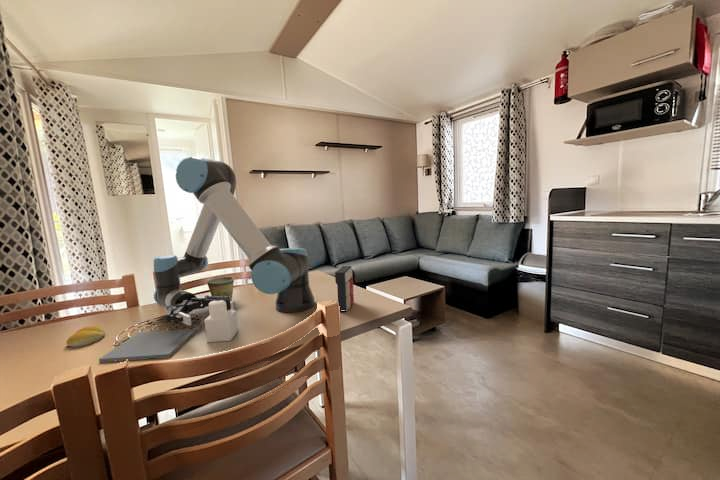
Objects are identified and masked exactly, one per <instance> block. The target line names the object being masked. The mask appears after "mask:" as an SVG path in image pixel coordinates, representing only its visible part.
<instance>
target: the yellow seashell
mask: <svg viewBox="0 0 720 480" xmlns="http://www.w3.org/2000/svg"><path fill="white" fill-rule="evenodd" d="M105 334H106V332H105V329H104V328H103V327H100V326H98V325H90V326H84V327H81V328H79V329H78V330H76V331H75V332H74V333H73V334H72V335H70V336H69V337H68V338H67V340H66V346H67V347H68V346H69V347H74V348H77V347H78V348H79V347H83V346H87V345H90V344H93V343H96V342H98V341H100V340H101V339H102V338H103V337H104V336H105Z"/></svg>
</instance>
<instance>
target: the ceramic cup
mask: <svg viewBox="0 0 720 480" xmlns="http://www.w3.org/2000/svg"><path fill="white" fill-rule="evenodd" d="M234 283H235V277H233V276H220V277H219V276H218V277H216V278H215V277H214V278H212V279H208V280H207V282H206V284H207V287H208V291H209V292H210V296H229V299H230V302H233V293H234Z"/></svg>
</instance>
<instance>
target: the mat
mask: <svg viewBox="0 0 720 480" xmlns="http://www.w3.org/2000/svg"><path fill="white" fill-rule="evenodd" d="M196 333H198V328H188V329H187V328H186V329H185V328H184V329H171V330H155V331H144V332H143V331H142V332H141V331H140V332H138V333H136V334H134V335H133V336H131V337H129V338H128V339H126V340H125V341H124V342H122V343H121V344H120V345H118V346H116V347H115V348H113V349H112V350H111V351H108V353H106V354H104V355H103V356H101V357H100V358H99V359H98V361H99V363H110V361H114V362H124V361H125V360H126V359H128V361H139V360H140V361H141V359H142V360H150V359H149V358H156V359H168V358H171V357H172V356H173V355H174V354H175V353H177V351H179V349H180V348H182V347H183V346H184V345H185V343H187V342H188V341H189V340H190V339H191V338H192V337H193V336H195V335H196ZM115 360H116V361H115ZM123 360H124V361H123Z"/></svg>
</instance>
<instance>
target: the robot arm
mask: <svg viewBox="0 0 720 480" xmlns="http://www.w3.org/2000/svg"><path fill="white" fill-rule="evenodd" d="M175 170H176V173H175V181H176V184H177V186H178V187H179V188H180V189H181V190H182V191H184V192H186V193H188V194H189V193H190V194H193V195H194V196H195V198H196V199H197V201H198V202H199V203H200V204H203V205H202V208H201V210H200V214H199V216H198V219H197V221H196V224H195V225H194V226H195V227H194V230H193V232H192V234H191V236H190V240H189V241H188V242H189V243H188V245H187V248H186V249H185V253H184V255H183V256H181V257H178V256H177V255H174V254H167V255H166V254H165V255H160V256H157V257H154V258H153V271H154V278H155V285H156V290H155V291H154V294H153V299H154V302H156V304H158V305H159V306H160V307H164V308H166V311H165V312H166V313H165V322H166V324H169V323H171V322H172V321H173V324H175V325H176V324H179V323H183V324H185V325H186V326H191V325H192V319H191V317H192V316H191V315H189V313H191V312H193V311H194V310H195V311H196V310H200V309H205V308H207V307H208V308H209V304H208V303H209V302H210V301H212V300H213V299H216V298H228V299H229V296H211V295H208V294H207V295H204V297H197V296H196V295H195V294H194V293H191V292H189V291H187V290H183V289H181V287H182V286H181V278H183V277H186V276H188V275H192V274H194V273H199V272H201V271H203V270H204V269H206V268H207V267H208V264H209V262H208V261H209V260H208V257H207V253H208V251H209V249H210V246H211V244H212V241H213V239H214V236H215V235H216V232H217V229H218V227H219V224H220V223H221V225H223V227H224V228H225V230H226V231H227V233H228V234H229V235H230V236H231V238H232V239H233V240H234V242H235V243H236V244H237V245H238V246H239V248H240V249H241V250H242V252H243V254H244V255H245V256H246V257H247V258H248V261H249V262H248V268H249V269H250V270H251V278H250V279H251V282H252V284H253V286H254V287H255V288H256V289H257V290H258V291H259V292H262V293H263V294H267V295H275V294H277V296H276V298H275V302H274V303H275V309H276V310H277V311H278V312H283V313H298V312H303V311H306V310H309V309H311V308H312V307H314V306H315V305H316V304H315V296H314V294H313V292H312V289H311V286H310V278H309V259H308V258H309V256H308V250H307V249H306V248H301V247H300V248H299V247H297V248H296V247H295V248H290V247H289V248H279V247H278V246H277V245H272V244H271V243H270V241H268V240H267V237H265V235H264V234H263V232H262V231H261V230H260V229H259V228H258V226H257V225H256V224H255V222H254V221H253V220H252V218H251V217H250V215H249V214H248V213H247V212H246V210H245V209H244V208H243V206H242V205H241V204H240V202H239V201H238V199H236V197H235V196H234V195H235V193H236V187H237V177H236V174H235V173H236V172H235V171H234V170H233V168H232V167H231V166H230V165H228V164H227V163H225V162H224V161H221V160H220V161H219V160H214V159H210V158H204V157H201V156H188V157H185V158H183V159H182V160H181V161H180V162H179V163H178V164H177V166H176V169H175ZM230 304H231V310H235V309H234V301H232V302H230Z"/></svg>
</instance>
